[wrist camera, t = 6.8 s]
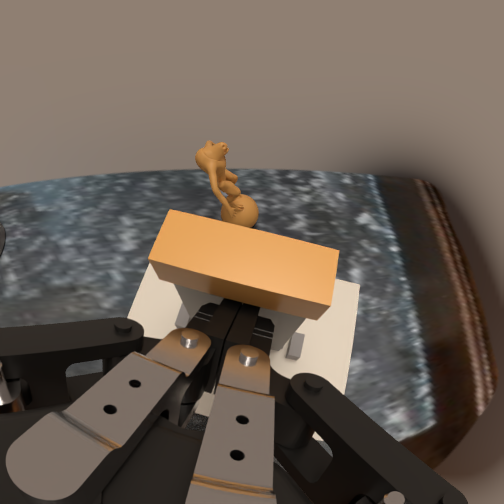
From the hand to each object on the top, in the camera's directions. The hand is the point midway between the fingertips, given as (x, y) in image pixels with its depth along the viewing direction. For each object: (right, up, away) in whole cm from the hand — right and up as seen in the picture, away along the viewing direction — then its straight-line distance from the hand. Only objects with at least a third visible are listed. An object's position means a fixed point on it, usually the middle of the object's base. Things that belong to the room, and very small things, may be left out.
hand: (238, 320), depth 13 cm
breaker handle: (0, -3, +8) cm, 8 cm away
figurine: (-2, +6, +22) cm, 23 cm away
